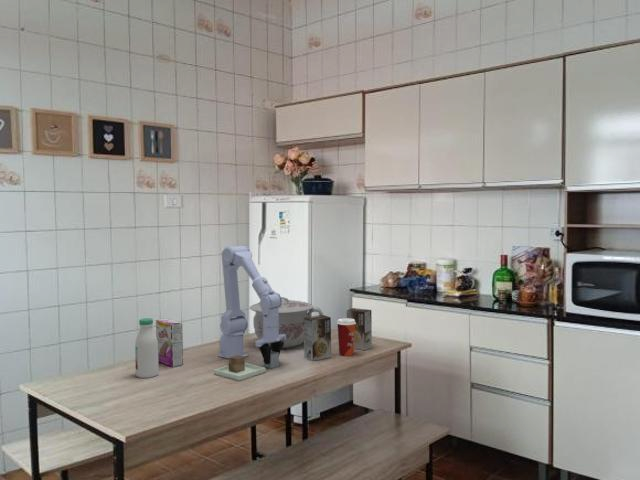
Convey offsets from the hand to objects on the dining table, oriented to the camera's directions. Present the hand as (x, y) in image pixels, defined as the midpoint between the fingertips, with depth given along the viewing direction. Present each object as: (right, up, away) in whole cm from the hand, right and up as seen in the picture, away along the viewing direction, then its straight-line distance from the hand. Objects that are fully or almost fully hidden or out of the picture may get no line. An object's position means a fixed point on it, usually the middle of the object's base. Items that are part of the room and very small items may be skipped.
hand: (271, 362), depth 211 cm
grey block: (0, -1, 0) cm, 1 cm away
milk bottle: (-43, -3, -10) cm, 44 cm away
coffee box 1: (+17, -1, +12) cm, 21 cm away
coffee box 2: (+35, 0, +27) cm, 44 cm away
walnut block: (-12, -1, -7) cm, 14 cm away
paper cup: (+29, -1, +17) cm, 33 cm away
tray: (-10, -2, -9) cm, 14 cm away
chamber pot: (+2, 0, +33) cm, 33 cm away
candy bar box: (-39, -2, +4) cm, 39 cm away
